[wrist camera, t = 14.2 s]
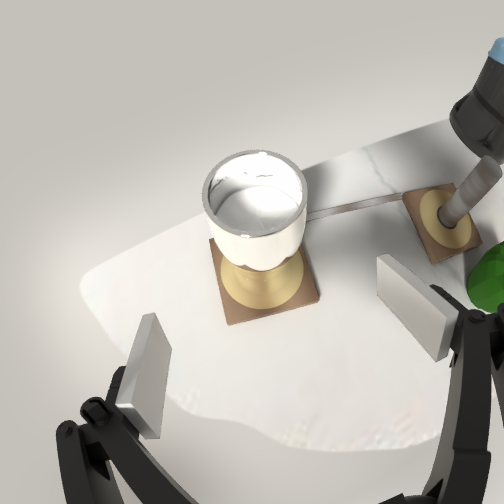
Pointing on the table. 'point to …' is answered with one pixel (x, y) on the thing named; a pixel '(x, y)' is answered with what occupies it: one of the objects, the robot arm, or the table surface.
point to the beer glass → (257, 216)
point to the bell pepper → (488, 280)
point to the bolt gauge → (417, 203)
